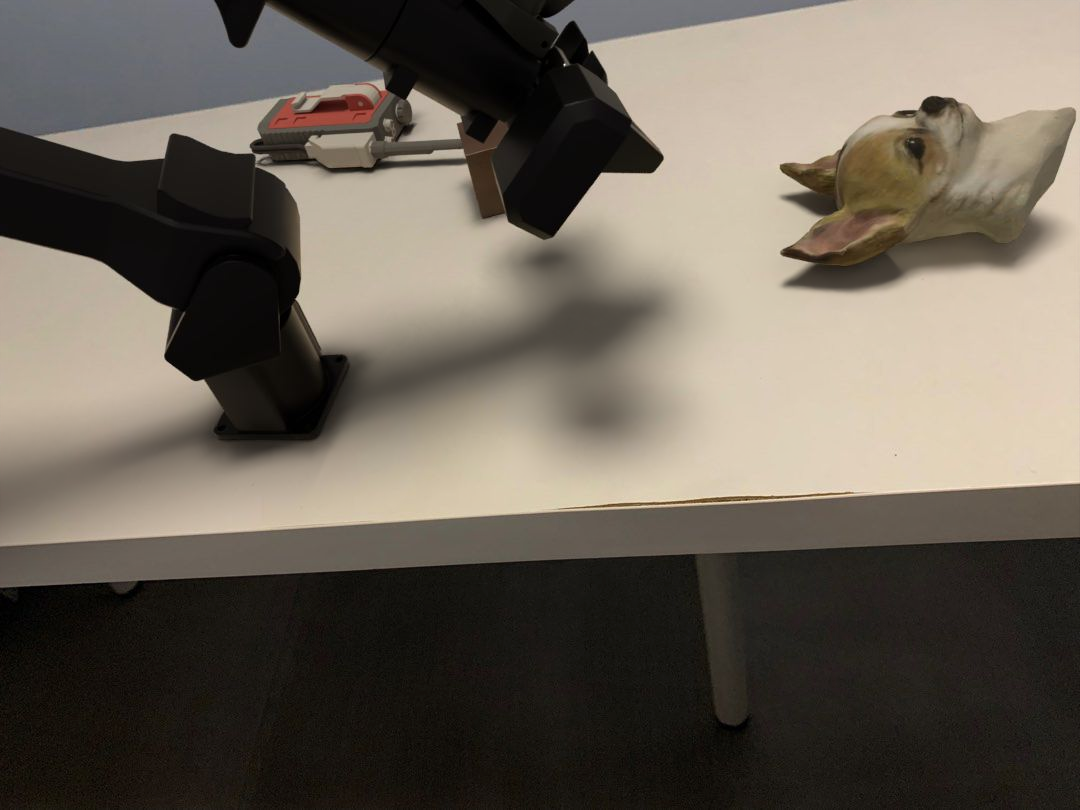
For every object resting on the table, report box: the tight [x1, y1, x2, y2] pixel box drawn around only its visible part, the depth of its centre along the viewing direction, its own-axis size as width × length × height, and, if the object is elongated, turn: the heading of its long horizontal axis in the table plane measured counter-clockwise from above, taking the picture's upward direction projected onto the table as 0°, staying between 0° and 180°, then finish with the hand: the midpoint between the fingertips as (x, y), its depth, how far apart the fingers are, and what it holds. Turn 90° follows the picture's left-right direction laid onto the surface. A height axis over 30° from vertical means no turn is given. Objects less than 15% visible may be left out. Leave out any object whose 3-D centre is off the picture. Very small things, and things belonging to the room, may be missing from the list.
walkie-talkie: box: [249, 82, 463, 169], centre depth 70 cm, size 9×4×20 cm
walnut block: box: [456, 121, 508, 219], centre depth 60 cm, size 5×5×5 cm
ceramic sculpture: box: [779, 95, 1077, 267], centre depth 48 cm, size 11×9×15 cm
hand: (657, 162), depth 45 cm, fingers closed
